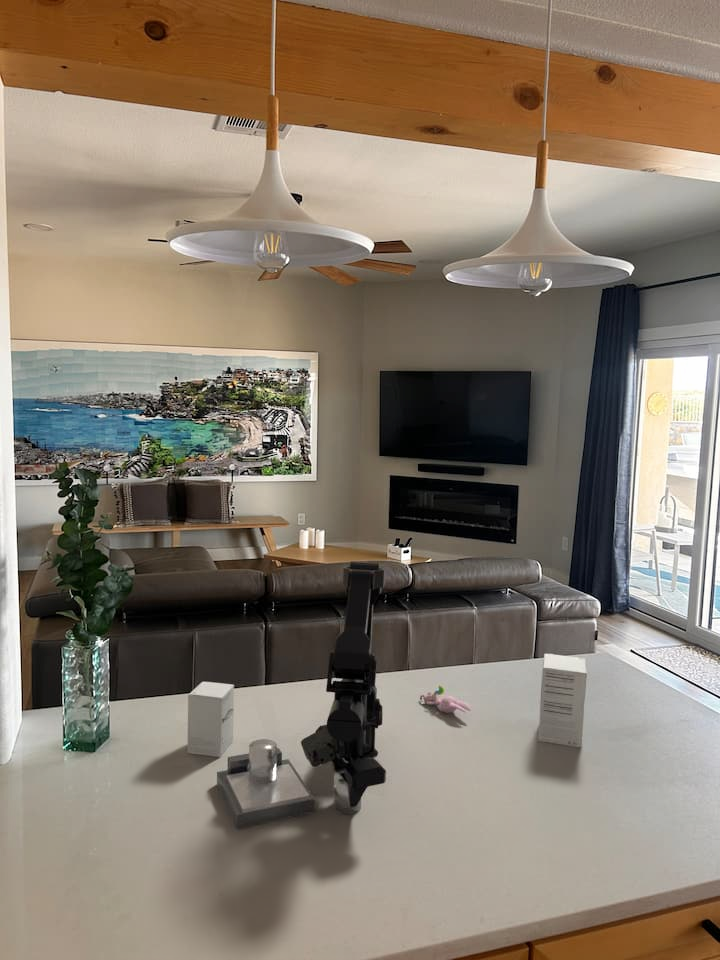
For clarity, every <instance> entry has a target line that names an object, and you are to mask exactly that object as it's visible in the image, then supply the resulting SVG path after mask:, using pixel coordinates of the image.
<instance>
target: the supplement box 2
mask: <svg viewBox="0 0 720 960" xmlns="http://www.w3.org/2000/svg"><path fill="white" fill-rule="evenodd" d="M542 661H543V662H542V670H541V671H542V672H541V673H542V674H541V687H540V688H541V690H540V701H539V702H540V705H539V706H540V707H539V723H538V724H539V725H538V742H544V743H550V744H555V745H562V746H570V747H575V748H576V747H577V748H582V746H583V732H584V731H583V730H584V717H585V700H586V688H587V677H588V672H587V666H586V664H587V662H586V661H587V659H586V658H584V657H576V656H569V655H568V656H567V655H561V654H555V653H543V660H542Z"/></svg>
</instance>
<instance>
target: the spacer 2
mask: <svg viewBox="0 0 720 960" xmlns="http://www.w3.org/2000/svg"><path fill="white" fill-rule="evenodd" d="M341 773H345V768H342V769H339V770H337V771H336V772H335V773H333V800H332V801H333V802H332V804H333V805H332V808H333V810H334V811H335V812H336V813H338V814H340V815H345V816H348V815H355V814H357V813H359V812H360V811H361V809H362V798H361V799H360V801H359V802H358V804H357V806H356V807H351V806H350V802H349V794H348V785H347V783H346V782H345V780H344V779H343V778H342V776H341V775H340V774H341Z"/></svg>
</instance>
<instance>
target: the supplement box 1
mask: <svg viewBox="0 0 720 960" xmlns="http://www.w3.org/2000/svg"><path fill="white" fill-rule="evenodd" d="M187 698H188V699H187V750H186V751H187V754H193V755H201V756H205V757H207V756H208V757H214V758H221V756H222V755H223V754H224V752H225V751H226V749H228V747H229V746H230V745H231V744H232V742H233V741H234V711H235V709H234V708H235V707H234V706H235V705H234V701H235V700H234V699H235V684H231V683H230V684H229V683H222V682H212V681H202V682H200V683H199V684H198V685H197V686H196V687H195V688H194V689H193V690H192V691H191V692H189V694H188V695H187Z"/></svg>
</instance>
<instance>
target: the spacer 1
mask: <svg viewBox="0 0 720 960" xmlns="http://www.w3.org/2000/svg"><path fill="white" fill-rule="evenodd" d="M249 743H250V742H249ZM277 745H278V744H277V742H276V741H274V740H272V739H268V738H267V739H265V738H261V739H256V740H254V741H252V742H251V743H250V744H249V745H248V746H249V748H248V753H249V780H250V781H251V782H253V783H257V784H266V783H270V782H272V781H274V780H275V779H276V763H277V748H278V746H277Z"/></svg>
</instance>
